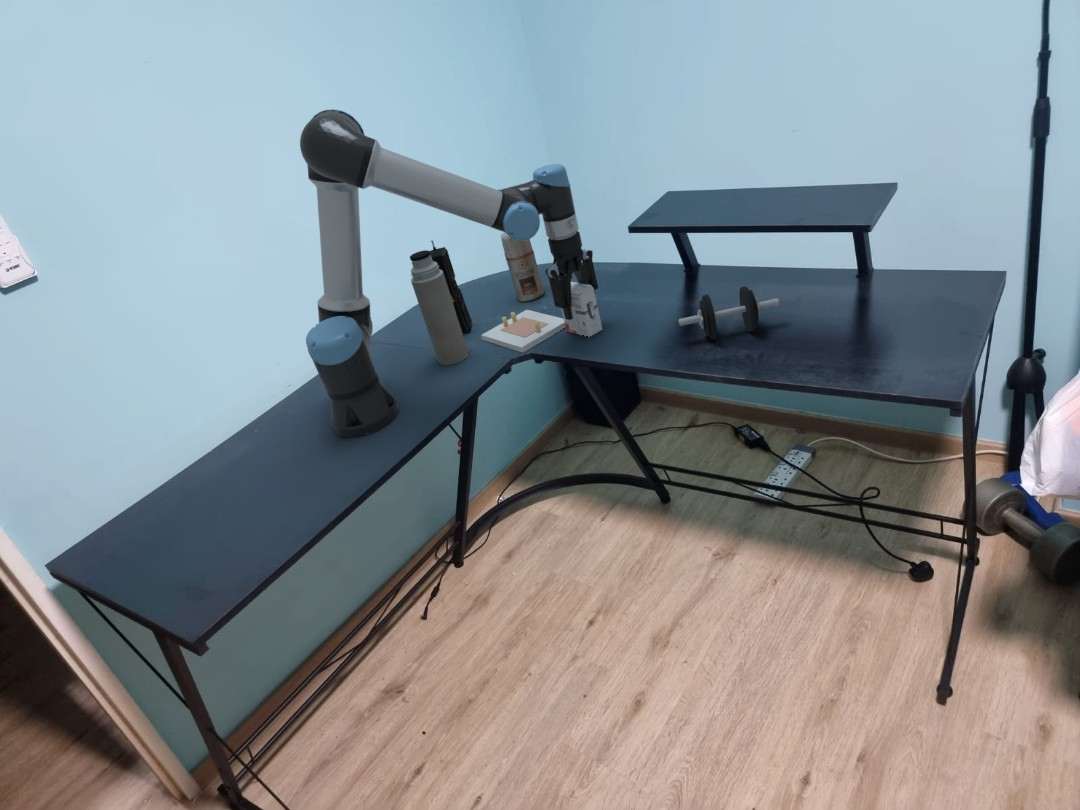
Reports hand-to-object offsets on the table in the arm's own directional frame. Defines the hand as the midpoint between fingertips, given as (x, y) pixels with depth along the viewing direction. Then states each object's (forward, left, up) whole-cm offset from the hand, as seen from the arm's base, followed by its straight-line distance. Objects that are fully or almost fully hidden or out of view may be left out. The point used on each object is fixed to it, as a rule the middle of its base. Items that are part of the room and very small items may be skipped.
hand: (582, 324), depth 175 cm
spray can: (+10, +33, -2) cm, 35 cm away
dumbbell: (+13, -34, -2) cm, 36 cm away
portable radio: (-14, +35, -2) cm, 38 cm away
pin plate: (-7, +15, -2) cm, 17 cm away
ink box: (0, 0, -2) cm, 2 cm away
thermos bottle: (-25, +23, -2) cm, 34 cm away
